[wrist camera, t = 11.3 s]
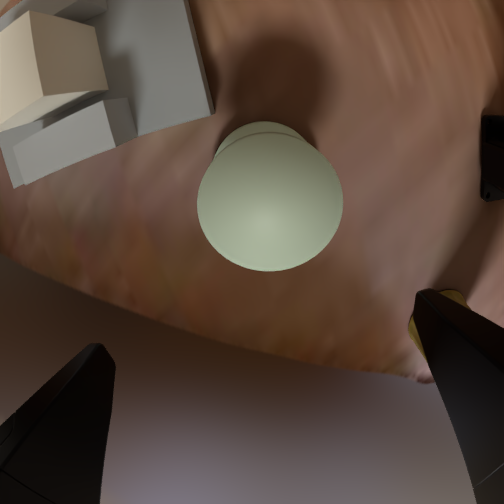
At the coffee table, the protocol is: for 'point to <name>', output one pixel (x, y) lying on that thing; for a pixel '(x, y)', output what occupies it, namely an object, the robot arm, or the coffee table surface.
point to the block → (46, 68)
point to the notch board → (115, 83)
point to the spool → (269, 198)
